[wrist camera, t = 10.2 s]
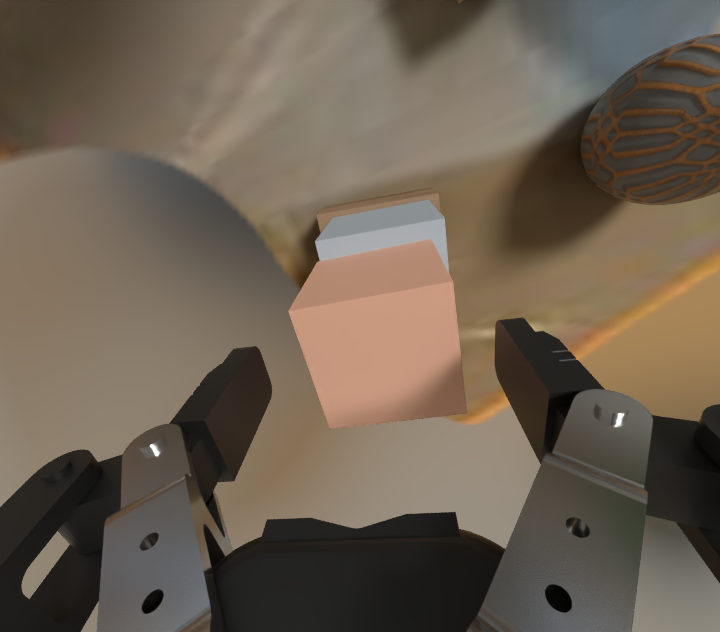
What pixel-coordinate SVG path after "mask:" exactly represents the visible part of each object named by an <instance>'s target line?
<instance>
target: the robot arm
mask: <svg viewBox="0 0 720 632" xmlns="http://www.w3.org/2000/svg"><path fill="white" fill-rule="evenodd" d="M495 369H496V374H497V378H498V380H499V382H500V384H501V386H502V388H503V390H504V392H505V394H506V396H507V398H508V400H509V402H510V404H511V406H512V408H513V410H514V412H515V414H516V416H517V418H518V420H519V422H520V424H521V426H522V428H523V430H524V432H525V434H526V436H527V438H528V440H529V442H530V444H531V446H532V448H533V450H534V452H535V454H536V456H537V458H538V460H539V462H540V464H541V466H540V468H539V471H538V473H537V475H536V478H535V480H534V482H533V485H532V487H531V490H530V492H529V494H528V497H527V499H526V502H525V504H524V506H523V509H522V511H521V513H520V516H519V518H518V521H517V523H516V525H515V528H514V530H513V533H512V535H511V537H510V540H509V542H508V545H507V547H506V549H504V548H502V547H501V546H499V545H498V544H496V543H494V542H492V541H491V540H489V539H487V538H484V537H482V536H480V535H477V534H474V533H472V532H469V531H465V530H461V529H459V527H458V523H457V517H456V513H455V512H448V513H446V512H445V513H422V514H405V515H402V516H399V517H395V518H392V519H389V520H386V521H382V522H379V523H376V524H373V525H370V526H366V527H363V528H358V529H355V528H349V527H345V526H341V525H337V524H333V523H329V522H325V521H321V520H317V519H313V518H297V519H271V520H267V521H266V524H265V528H264V531H263V534H262V537H260V538H257V539H255V540H252V541H250V542H248V543H246V544H244V545H242V546H241V547H239V548H237V549H235V550H234V551H233V549H232V546H231V543H230V539H229V536H228V533H227V529H226V526H225V522H224V519H223V516H222V512H221V509H220V505H219V502H218V498H217V496H216V494H215V492H214V488H215V486H216V484H217V482H227V481H234V480H235V478H236V476H237V474H238V471H239V469H240V467H241V465H242V462H243V460H244V458H245V456H246V453H247V451H248V449H249V447H250V444H251V442H252V440H253V438H254V435H255V433H256V431H257V429H258V426H259V424H260V422H261V420H262V417H263V415H264V413H265V411H266V409H267V406H268V404H269V402H270V399H271V395H272V386H271V381H270V378H269V375H268V373H267V370H266V367H265V364H264V361H263V358H262V355H261V352H260V350H259V349H258V348H257V347H255V346H254V347H245V348H236V349H233V350H232V351H231V353H230V354H229V355H228V357H227V358H226V359H225V361H224V362H223V363H222V364H220V365H219V366H217V367H216V368H215V369H213V370H212V371H211V372H210V373H208V374H207V376H206V377H205V378H204V379H203V381H202V382H201V383H200V386H198V387H197V388H196V390H195V391H194V392H193V395H191V396H190V397H189V399H188V400H187V401H186V403H185V404H184V405H183V407H182V408H181V409H180V410H179V412H178V413H177V414H176V416H175V417H174V418H173V420H172V421H171V422H170V423H169V424H164V425H160V426H157V427H154V428H152V429H150V430H148V431H146V432H144V433H143V434H141V435H140V436H139V437H137V438H136V439H135V440H133V442H131V443H130V444H129V446H128V447H127V448H126V450H125V451H124V453H123V455H120V456H116V457H113V458H110V459H107V460H104V461H101V462H97V460H96V459H95V458H94V456H93V455H92V454H91V453H90V451H88V450H76V451H72V452H69V453H66V454H64V455H62V456H60V457H58V458H56V459H54V460H52V461H51V462H49V463H48V464H46V465H45V466H43V467H42V468H41V469H39V470H38V471H37V472H36V473H35V474H34V475H33V476H31V478H29V480H27V481H26V482H25V484H23V485H22V486H21V487H20V488H19V489H18V490H17V491H16V492H15V493H14V494H13V495H12V496H11V497H10V498H9V499H8V500H7V501H6V502H5V503H4V504H3V505H2V506H1V507H0V632H81V630H82V628H83V627H84V625H85V623H86V621H87V620H88V618H89V616H90V615H91V613H92V611H93V609H94V608H95V606H96V604H97V603H98V601H99V606H98V620H97V632H632V625H633V617H634V609H635V600H636V592H637V584H638V576H639V567H640V559H641V551H642V542H643V534H644V525H645V517H646V515H649V516H653V517H658V518H662V519H667V520H671V521H675V522H676V523H677V524H678V526H679V527H680V528H681V530H682V531H683V533H684V534H685V535H686V537H687V538H688V540H689V541H690V542H691V544H692V545H693V547H694V548H695V549H696V551H697V552H698V554H699V555H700V556H701V558H702V559H703V560H704V562H705V563H706V565H707V566H708V568H709V569H710V570H711V572H712V573H713V574H714V576H715V577H716V579H717V580H718V581H719V583H720V404H719V405H713V406H710V407H708V408H706V409H705V410H704V411H703V414H702V416H701V419H700V421H699V422H697V421H689V420H681V419H674V418H667V417H660V416H654V415H651V413H650V412H649V411H648V409H647V408H646V407H645V406H644V405H642V404H641V403H640V402H638V401H637V400H635V399H633V398H631V397H629V396H626V395H624V394H621V393H618V392H615V391H610V390H605V389H604V388H603V387H602V386H601V385H600V384H599V382H597V380H596V379H595V378H594V377H593V376H592V375H591V374H590V373H589V372H588V371H587V370H586V368H585V367H584V366H583V365H582V364H581V363H580V362H579V361H578V360H576V358H575V356H574V355H573V354H572V353H571V352H570V351H569V352H568V349H567V348H566V347H565V346H564V345H563V343H562V342H561V341H560V340H559V339H557V338H555V337H553V336H552V335H550V334H548V333H546V332H544V331H540V332H535V331H534V330H533V329H532V327H531V326H530V325H529V324H528V323H527V321H526V320H525V319H524V318H515V319H505V320H498V321H497V322H496V328H495ZM57 531H58V532H59V533H60V534H61V535H62V536H63V537H64V538H65V539H66V540H67V541H68V543H69V544H70V545H69V547H68V548H67V550H66V551H65V552H64V553H63V555H62V556H61V557H60V559H59V560H58V562H57V563H56V564H55V565H54V567H53V568H52V569H51V571H50V572H49V574H48V575H47V576H46V578H45V579H44V580H43V582H42V583H41V585H40V586H39V587H38V588H37V590H36V591H35V592H34V594H33V595H32V597H31V598H30V599H28V598H27V597H25V595H24V594H23V593H22V589H21V584H22V580H23V576H24V574H25V572H26V570H27V569H28V567H29V566H30V564H31V563H32V562H33V560H34V559H35V558H36V557H37V556H38V554H39V553H40V552H41V551H42V549H43V548H44V547H45V546H46V544H47V543H48V542H49V541H50V539H51V538H52V537H53V536H54V534H55V533H56V532H57Z"/></svg>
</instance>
